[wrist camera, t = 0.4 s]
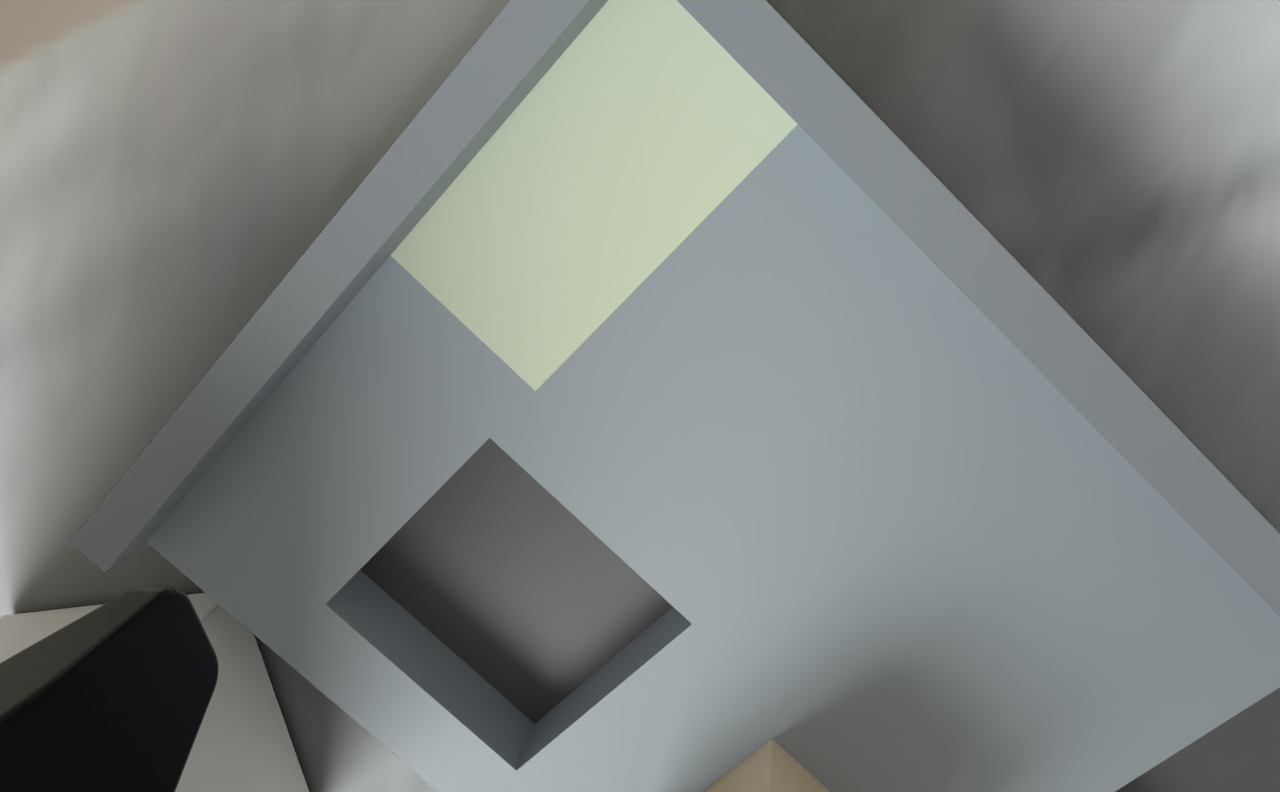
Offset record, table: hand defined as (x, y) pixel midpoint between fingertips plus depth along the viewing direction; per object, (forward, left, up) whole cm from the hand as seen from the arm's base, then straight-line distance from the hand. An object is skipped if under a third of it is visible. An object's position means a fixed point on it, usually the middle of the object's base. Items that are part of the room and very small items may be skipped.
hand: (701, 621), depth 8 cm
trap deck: (-5, -7, -15) cm, 17 cm away
